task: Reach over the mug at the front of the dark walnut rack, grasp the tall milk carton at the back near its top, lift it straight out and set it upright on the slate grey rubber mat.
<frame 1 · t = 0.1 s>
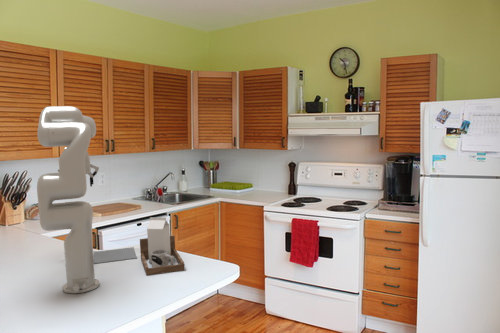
hand: (79, 186, 198), 31 cm above the counter, tool pointing down, fingers open, 9 cm apart
slate mat: (114, 255, 197), on the counter
mug: (163, 268, 178), on the counter
walnut rack: (161, 264, 182), on the counter
milk carton: (160, 261, 187), resting in walnut rack
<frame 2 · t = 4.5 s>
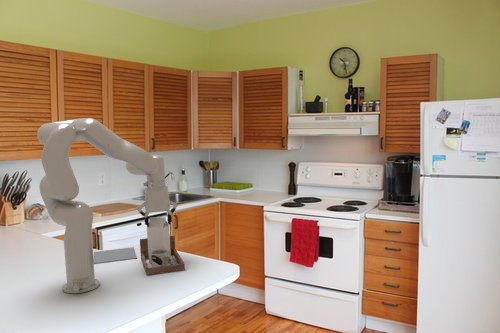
hand: (158, 224, 185), 16 cm above the counter, tool pointing down, fingers closed on milk carton, 8 cm apart
milk carton: (160, 261, 187), resting in walnut rack, touching gripper
everything else where it was.
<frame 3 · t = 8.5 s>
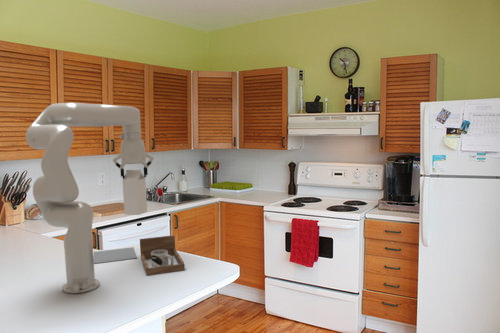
hand: (134, 177, 188), 36 cm above the counter, tool pointing down, fingers closed on milk carton, 8 cm apart
milk carton: (136, 213, 189), point 20 cm above the counter, touching gripper
everything else where it was.
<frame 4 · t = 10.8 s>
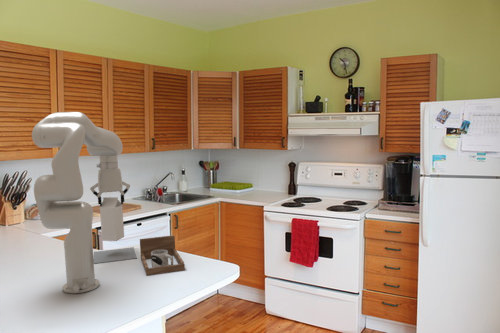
hand: (111, 204, 195), 23 cm above the counter, tool pointing down, fingers closed on milk carton, 8 cm apart
milk carton: (113, 239, 196), point 7 cm above the counter, touching gripper
everything else where it was.
when the fingers open (17 cm above the counter, at t = 12.8 s): milk carton drops 1 cm, resting on slate mat.
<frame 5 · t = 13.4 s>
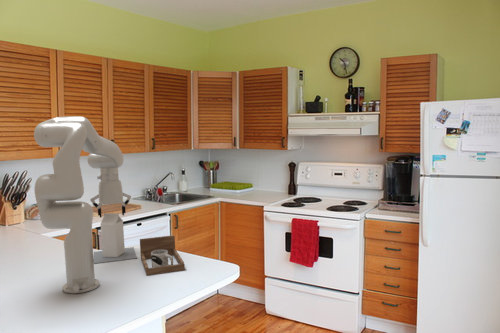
hand: (112, 215, 195), 18 cm above the counter, tool pointing down, fingers open, 9 cm apart
milk carton: (114, 255, 197), resting on slate mat
everything else where it was.
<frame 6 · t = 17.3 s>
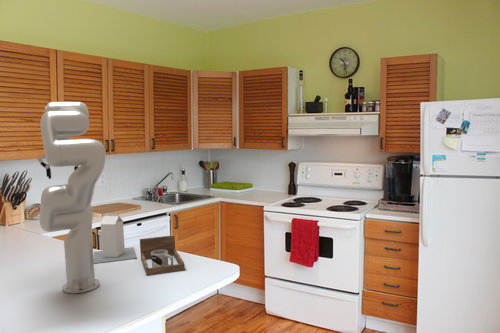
hand: (63, 177, 174), 38 cm above the counter, tool pointing down, fingers open, 9 cm apart
nothing on the counter moved.
at the end: milk carton inside the target area on the slate mat (0.4 cm from its centre), point 0.2 cm above the slate mat's base; milk carton tilted 0°; the gripper is holding nothing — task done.
